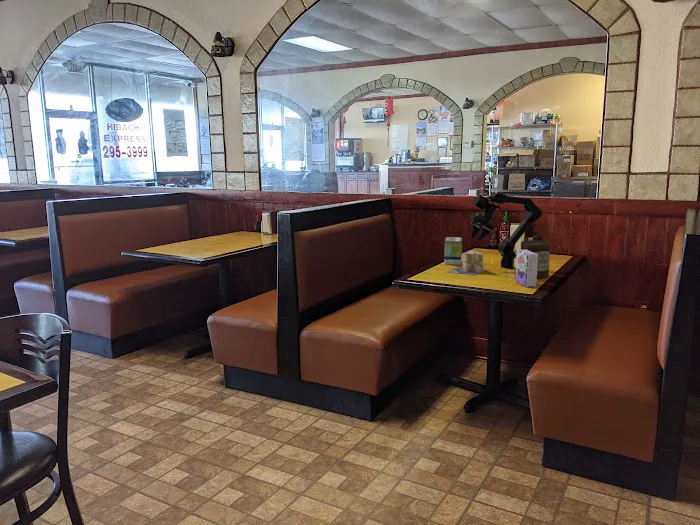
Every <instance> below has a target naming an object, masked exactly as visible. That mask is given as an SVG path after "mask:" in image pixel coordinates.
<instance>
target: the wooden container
mask: <svg viewBox="0 0 700 525" xmlns="http://www.w3.org/2000/svg"><path fill="white" fill-rule="evenodd" d="M531 238H532V239H530V240H529V239H527V240H522V241H520V250H529V251H531V252H533V253H535V254H538V267H537V280H543V279H547V278H549V274H550V255H551V254H550V252H551V251H550V250H551V248H550V247H551V243H550V242H551V241H550V242H549V241H546V240H540V239H539V238H540V236H539V235H538V234H533V235H532V236H531Z"/></svg>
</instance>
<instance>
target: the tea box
mask: <svg viewBox="0 0 700 525" xmlns="http://www.w3.org/2000/svg"><path fill="white" fill-rule="evenodd" d="M462 251H463V237H458V236H457V237H456V236H455V237H453V236H452V237H451V236H449V237H448V236H447V237H445V239H444V259H443V260H444V263H443V264H444V265H453V266H454V265H455V266H457V265H458V266H459V265H460V266H462V257H463V252H462Z"/></svg>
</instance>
